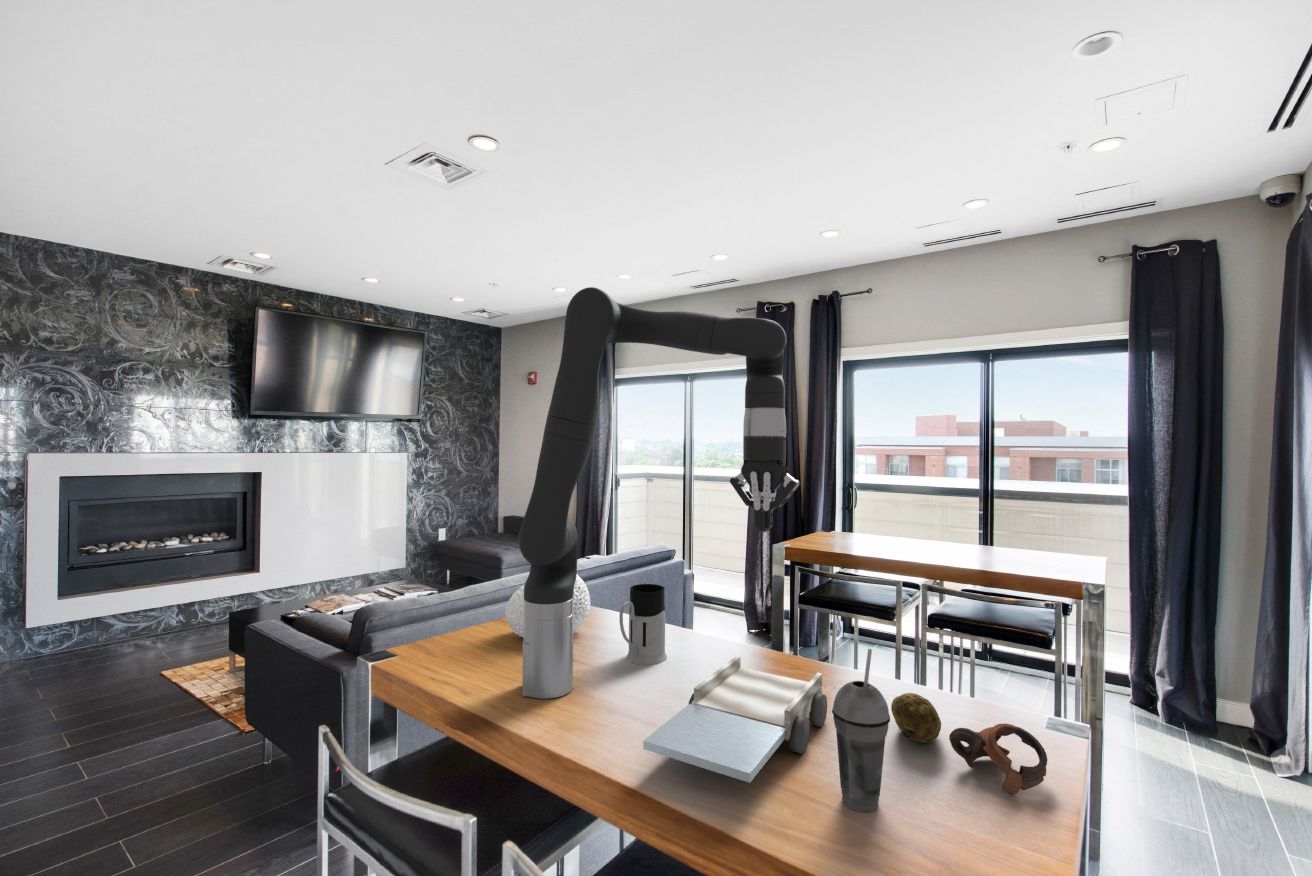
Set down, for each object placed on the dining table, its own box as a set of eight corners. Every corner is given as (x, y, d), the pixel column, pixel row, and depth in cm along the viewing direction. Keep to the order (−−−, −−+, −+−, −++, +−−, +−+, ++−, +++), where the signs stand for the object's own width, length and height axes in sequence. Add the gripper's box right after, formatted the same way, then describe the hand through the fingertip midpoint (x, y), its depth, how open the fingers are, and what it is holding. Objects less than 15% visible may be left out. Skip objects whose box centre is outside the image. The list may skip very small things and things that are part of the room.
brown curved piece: (1023, 763, 91) (1047, 729, 87) (1034, 825, 83) (1061, 790, 79) (938, 732, 94) (958, 698, 90) (941, 789, 86) (962, 754, 82)
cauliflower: (576, 584, 161) (563, 543, 151) (610, 630, 149) (598, 589, 139) (507, 626, 154) (488, 586, 143) (537, 678, 142) (518, 638, 131)
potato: (956, 733, 99) (956, 683, 99) (932, 765, 89) (932, 710, 89) (903, 717, 105) (904, 671, 105) (875, 746, 95) (875, 694, 95)
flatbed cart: (729, 691, 115) (729, 654, 115) (830, 715, 105) (830, 675, 105) (683, 730, 99) (684, 687, 99) (796, 763, 90) (797, 715, 90)
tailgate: (689, 703, 98) (643, 740, 86) (786, 728, 90) (749, 773, 78) (689, 714, 98) (643, 753, 86) (786, 740, 90) (749, 787, 78)
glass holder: (674, 655, 134) (675, 586, 134) (638, 676, 122) (638, 601, 122) (641, 647, 138) (641, 581, 138) (603, 667, 126) (603, 594, 126)
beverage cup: (823, 787, 84) (824, 640, 84) (874, 784, 84) (875, 639, 84) (844, 820, 76) (845, 660, 76) (900, 817, 77) (901, 658, 77)
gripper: (721, 433, 110) (721, 530, 110) (793, 434, 103) (793, 537, 103) (738, 434, 116) (737, 525, 116) (807, 434, 109) (806, 531, 109)
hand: (763, 530), depth 109 cm, fingers closed
